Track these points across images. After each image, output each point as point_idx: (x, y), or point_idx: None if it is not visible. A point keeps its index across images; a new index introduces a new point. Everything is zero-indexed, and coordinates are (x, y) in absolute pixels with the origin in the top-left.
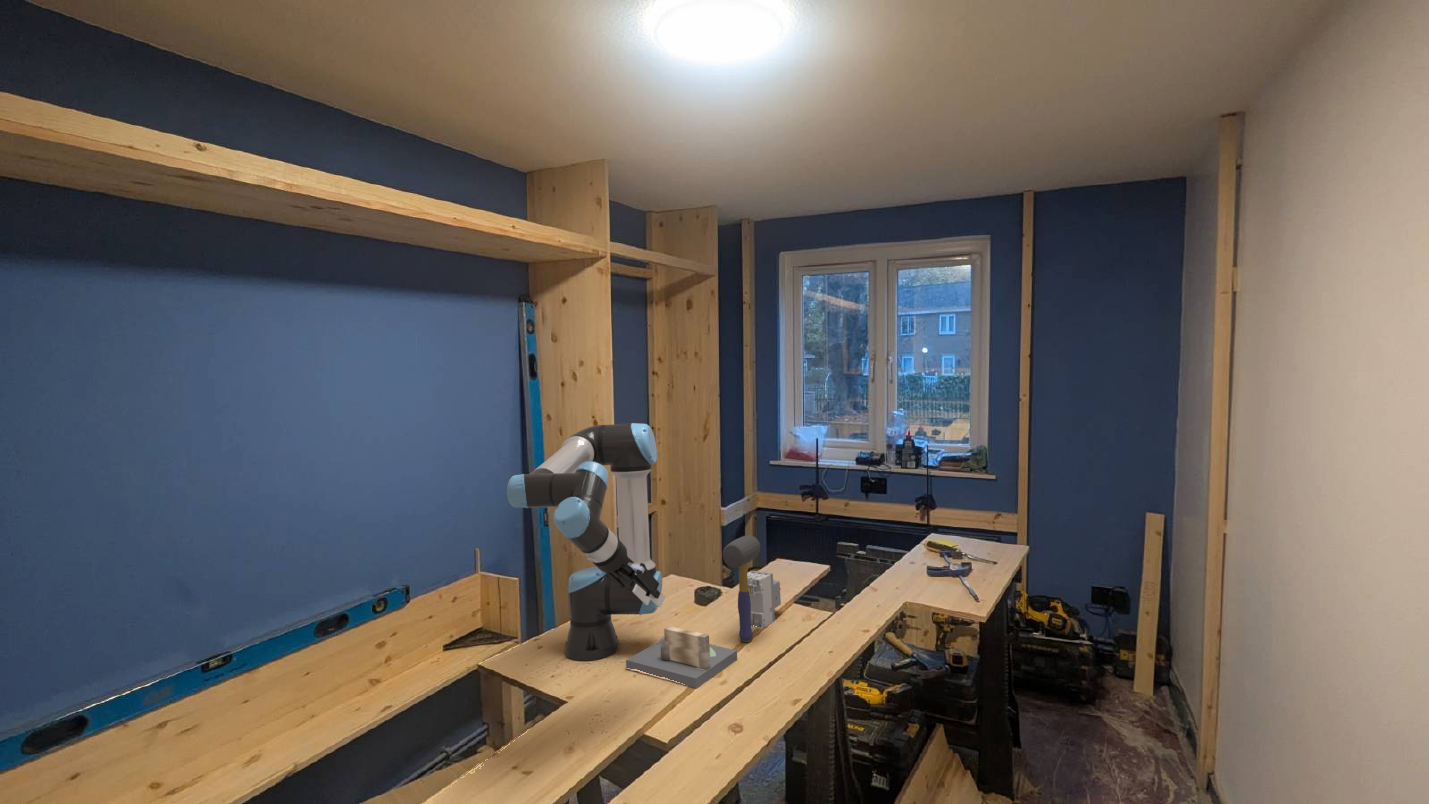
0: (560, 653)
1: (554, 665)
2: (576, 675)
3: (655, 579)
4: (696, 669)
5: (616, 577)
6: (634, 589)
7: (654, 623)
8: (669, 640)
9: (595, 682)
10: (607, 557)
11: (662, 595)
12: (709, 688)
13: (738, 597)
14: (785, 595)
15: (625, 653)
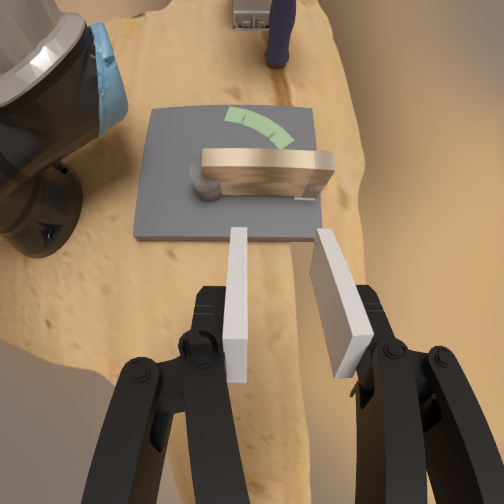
0: (12, 247)
1: (27, 289)
2: (76, 304)
3: (476, 401)
4: (298, 203)
5: (152, 502)
6: (237, 375)
7: None
8: (220, 177)
9: (123, 313)
10: None
11: (337, 246)
12: (337, 230)
13: (276, 8)
14: None
15: (99, 187)
